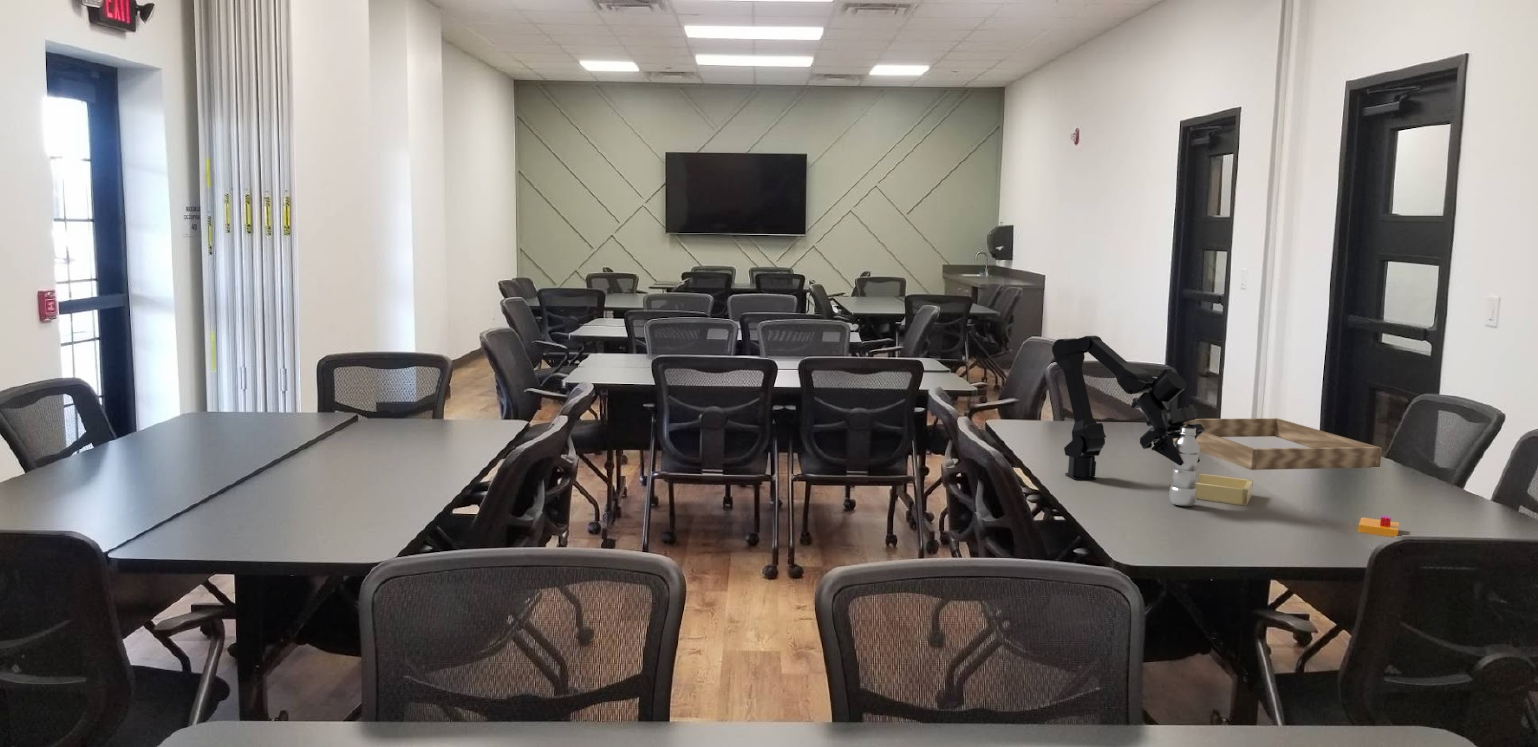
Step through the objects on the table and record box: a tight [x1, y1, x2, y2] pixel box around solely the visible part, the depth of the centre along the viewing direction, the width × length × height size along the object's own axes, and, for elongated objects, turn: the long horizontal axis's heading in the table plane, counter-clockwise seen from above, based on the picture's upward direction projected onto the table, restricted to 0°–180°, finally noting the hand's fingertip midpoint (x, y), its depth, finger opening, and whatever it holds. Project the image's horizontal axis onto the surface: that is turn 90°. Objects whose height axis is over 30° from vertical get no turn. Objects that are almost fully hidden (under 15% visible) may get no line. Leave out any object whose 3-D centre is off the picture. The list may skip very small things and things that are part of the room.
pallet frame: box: [1173, 417, 1383, 471], centre depth 348 cm, size 43×49×6 cm
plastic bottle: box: [1168, 426, 1201, 507], centre depth 275 cm, size 6×7×20 cm
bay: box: [1196, 473, 1254, 507], centre depth 286 cm, size 13×13×4 cm
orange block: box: [1357, 515, 1400, 538], centre depth 257 cm, size 8×8×4 cm
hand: (1190, 463), depth 274 cm, fingers closed on plastic bottle, 6 cm apart
